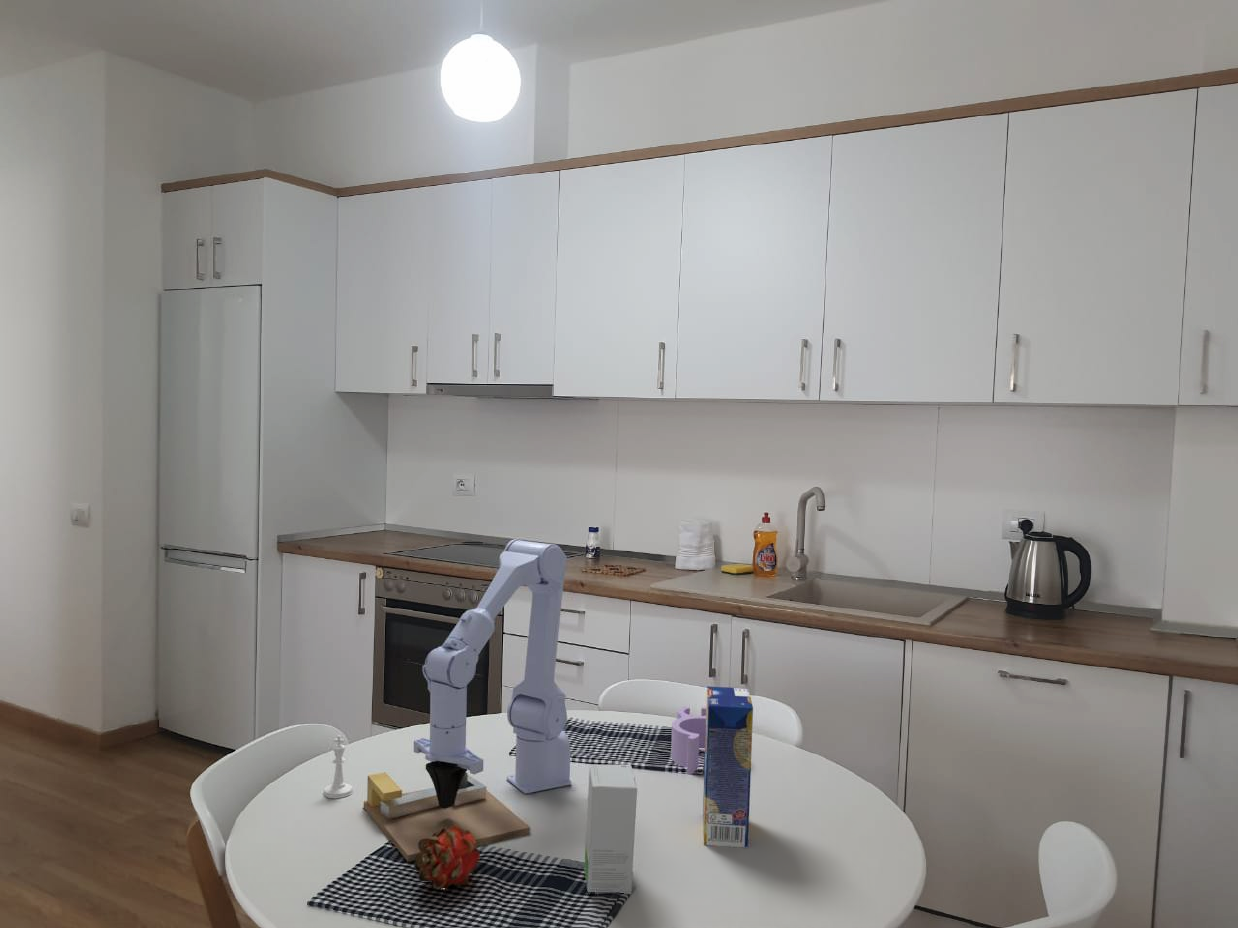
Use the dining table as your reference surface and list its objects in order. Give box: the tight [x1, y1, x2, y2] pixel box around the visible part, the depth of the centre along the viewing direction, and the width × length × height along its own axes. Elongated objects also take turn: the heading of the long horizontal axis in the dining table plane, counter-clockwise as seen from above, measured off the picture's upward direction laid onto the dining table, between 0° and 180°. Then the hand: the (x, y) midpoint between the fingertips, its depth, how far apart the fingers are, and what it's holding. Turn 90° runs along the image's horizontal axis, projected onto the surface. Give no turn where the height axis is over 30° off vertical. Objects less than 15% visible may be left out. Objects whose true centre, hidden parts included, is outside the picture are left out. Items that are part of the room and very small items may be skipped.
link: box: [381, 774, 487, 819], centre depth 153 cm, size 17×6×2 cm, turn 129°
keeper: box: [366, 772, 403, 807], centre depth 151 cm, size 3×8×4 cm, turn 32°
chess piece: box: [323, 734, 354, 799], centre depth 160 cm, size 5×5×10 cm
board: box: [363, 772, 531, 863], centre depth 150 cm, size 20×22×5 cm
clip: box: [670, 705, 707, 775], centre depth 183 cm, size 20×12×7 cm, turn 3°
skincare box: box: [584, 764, 638, 895], centre depth 131 cm, size 8×7×16 cm
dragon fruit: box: [413, 825, 481, 890], centre depth 130 cm, size 8×8×12 cm
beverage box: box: [702, 685, 754, 849], centre depth 149 cm, size 7×11×22 cm, turn 176°
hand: (446, 805), depth 148 cm, fingers closed
